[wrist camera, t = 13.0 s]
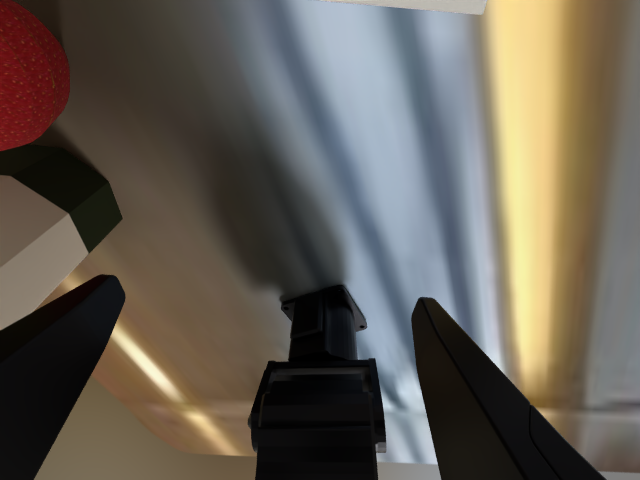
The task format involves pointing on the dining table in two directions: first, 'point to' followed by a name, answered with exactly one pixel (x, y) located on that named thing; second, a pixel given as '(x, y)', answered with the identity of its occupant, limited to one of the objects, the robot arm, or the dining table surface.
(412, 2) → the dimmer console
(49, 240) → the wine bottle
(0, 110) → the strawberry
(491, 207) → the dining table surface
